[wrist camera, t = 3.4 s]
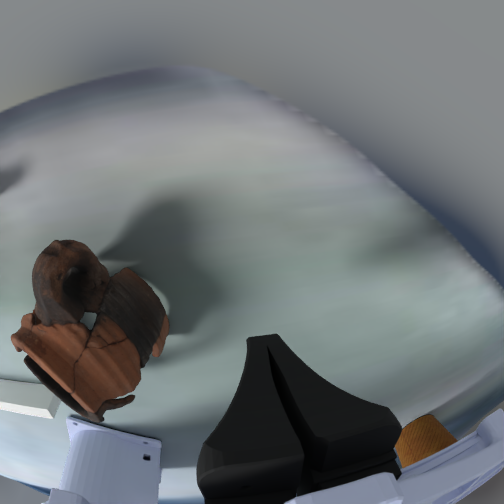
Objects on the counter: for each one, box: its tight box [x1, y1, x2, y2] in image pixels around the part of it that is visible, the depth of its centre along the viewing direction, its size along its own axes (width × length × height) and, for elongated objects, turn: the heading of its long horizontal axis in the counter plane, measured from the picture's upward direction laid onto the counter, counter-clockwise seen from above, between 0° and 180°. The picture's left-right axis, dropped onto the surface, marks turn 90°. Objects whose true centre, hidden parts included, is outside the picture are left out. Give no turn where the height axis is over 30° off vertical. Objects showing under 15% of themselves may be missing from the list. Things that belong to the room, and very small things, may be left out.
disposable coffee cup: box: [395, 415, 458, 468], centre depth 24 cm, size 10×10×12 cm
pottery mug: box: [11, 240, 169, 423], centre depth 16 cm, size 12×10×8 cm
